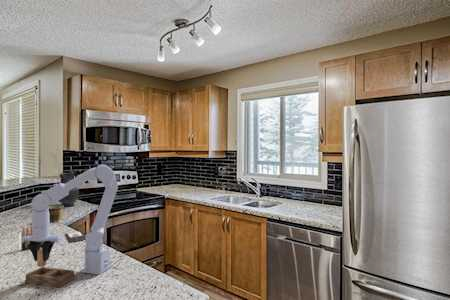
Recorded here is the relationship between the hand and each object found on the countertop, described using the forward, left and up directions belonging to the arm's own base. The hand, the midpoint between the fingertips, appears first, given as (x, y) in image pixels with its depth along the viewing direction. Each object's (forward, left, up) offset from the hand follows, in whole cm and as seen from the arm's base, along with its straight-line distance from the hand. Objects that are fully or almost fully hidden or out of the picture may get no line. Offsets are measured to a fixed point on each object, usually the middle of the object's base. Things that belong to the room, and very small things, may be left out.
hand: (41, 260), depth 116 cm
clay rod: (0, 0, -2) cm, 2 cm away
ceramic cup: (+67, -73, -8) cm, 100 cm away
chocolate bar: (+26, -47, -8) cm, 55 cm away
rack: (-4, 0, -8) cm, 8 cm away
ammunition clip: (+34, -28, -8) cm, 44 cm away
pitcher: (+97, -120, -8) cm, 154 cm away
